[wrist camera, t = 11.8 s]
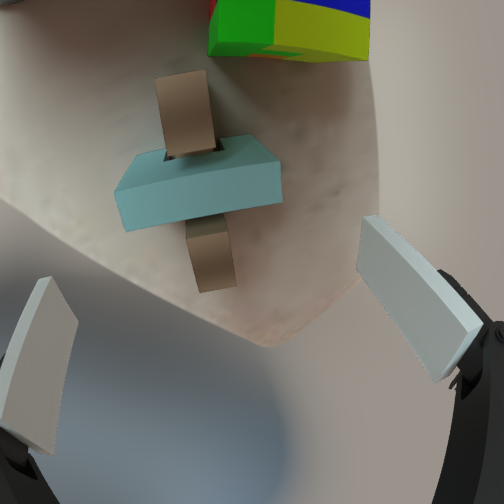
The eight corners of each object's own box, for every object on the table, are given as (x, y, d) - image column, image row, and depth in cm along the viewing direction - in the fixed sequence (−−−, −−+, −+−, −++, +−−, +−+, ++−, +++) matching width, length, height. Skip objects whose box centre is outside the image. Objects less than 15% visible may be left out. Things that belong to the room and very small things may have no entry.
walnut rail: (167, 80, 22) (154, 78, 14) (200, 74, 23) (205, 69, 14) (194, 232, 31) (199, 293, 23) (222, 226, 32) (236, 286, 23)
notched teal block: (143, 183, 27) (125, 232, 19) (137, 155, 26) (113, 192, 17) (253, 163, 28) (282, 202, 20) (250, 134, 27) (280, 161, 19)
